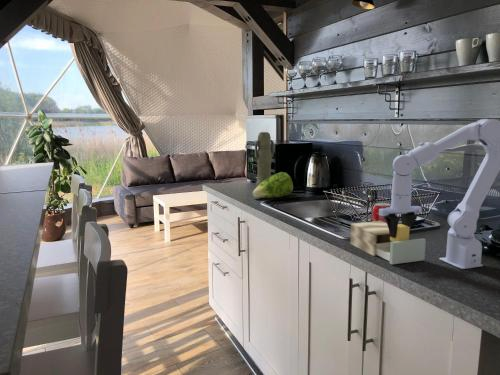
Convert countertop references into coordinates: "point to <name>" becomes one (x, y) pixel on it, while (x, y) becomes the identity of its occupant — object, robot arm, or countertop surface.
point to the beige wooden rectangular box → (369, 235)
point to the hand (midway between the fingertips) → (399, 236)
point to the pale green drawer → (402, 251)
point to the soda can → (376, 211)
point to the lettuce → (274, 186)
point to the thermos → (264, 156)
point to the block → (401, 233)
